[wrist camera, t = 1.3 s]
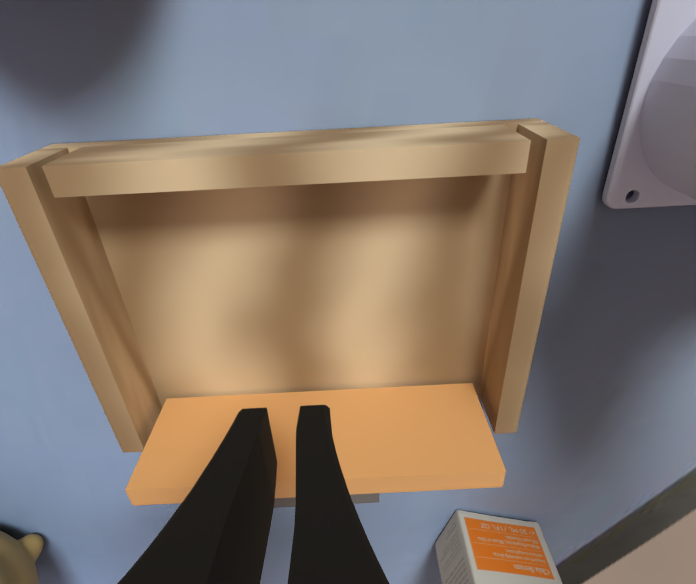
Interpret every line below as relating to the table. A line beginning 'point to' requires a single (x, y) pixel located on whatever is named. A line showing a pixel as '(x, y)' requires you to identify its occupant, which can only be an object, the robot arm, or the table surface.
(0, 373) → the table surface
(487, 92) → the table surface
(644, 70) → the robot arm
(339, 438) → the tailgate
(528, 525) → the skincare box
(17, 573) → the tan toy animal
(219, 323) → the tray
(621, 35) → the table surface
